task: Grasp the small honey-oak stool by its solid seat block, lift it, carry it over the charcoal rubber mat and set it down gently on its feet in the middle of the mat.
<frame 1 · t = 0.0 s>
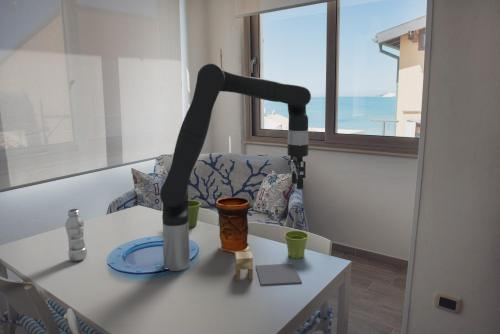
hand: (297, 186, 139), 29 cm above the table, fingers open, 8 cm apart
stool: (244, 276, 132), on the table
plant pot: (296, 256, 149), on the table
vessel: (233, 246, 158), on the table
plastic bottle: (78, 260, 146), on the table
mat: (277, 274, 133), on the table
plant pot 2: (189, 225, 183), on the table
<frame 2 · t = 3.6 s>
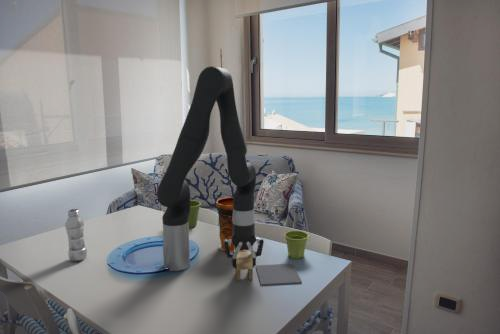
hand: (244, 267, 131), 4 cm above the table, fingers closed on stool, 5 cm apart
stool: (244, 276, 132), on the table, touching gripper
everything else where it was.
when the fingers open (5 cm above the table, at t = 8.2 s): stool stays where it is, resting on mat.
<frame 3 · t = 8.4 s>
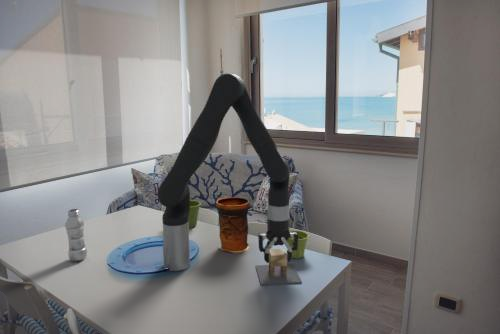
hand: (277, 261, 132), 5 cm above the table, fingers open, 7 cm apart
stool: (277, 273, 133), resting on mat
everything else where it was.
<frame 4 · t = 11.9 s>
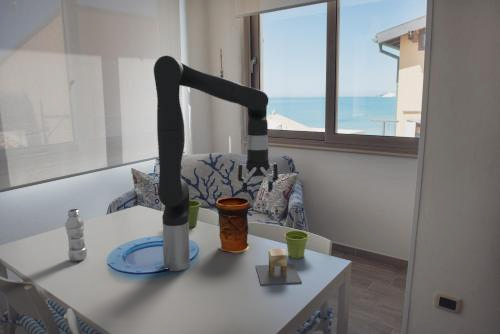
hand: (257, 191, 136), 28 cm above the table, fingers open, 8 cm apart
nothing on the table moved.
at the end: stool inside the target area on the mat (0.1 cm from its centre), point 0.5 cm above the mat's base; stool tilted 0°; the gripper is holding nothing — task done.
